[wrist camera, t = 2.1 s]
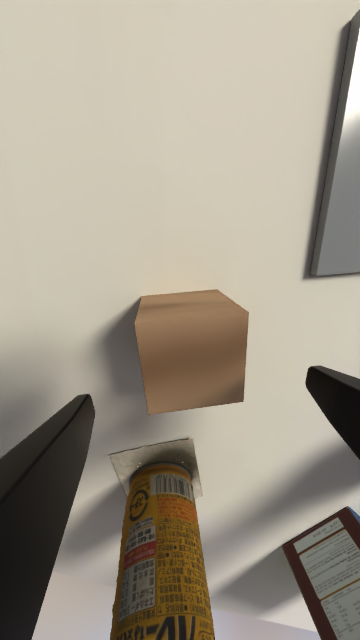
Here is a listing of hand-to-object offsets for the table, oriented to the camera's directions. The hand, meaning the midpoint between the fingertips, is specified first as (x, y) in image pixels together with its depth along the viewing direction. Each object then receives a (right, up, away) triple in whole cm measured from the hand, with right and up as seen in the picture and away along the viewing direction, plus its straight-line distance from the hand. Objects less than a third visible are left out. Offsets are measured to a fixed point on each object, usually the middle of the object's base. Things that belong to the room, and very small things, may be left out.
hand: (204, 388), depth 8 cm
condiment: (-3, -12, +11) cm, 17 cm away
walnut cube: (-1, +2, +6) cm, 7 cm away
